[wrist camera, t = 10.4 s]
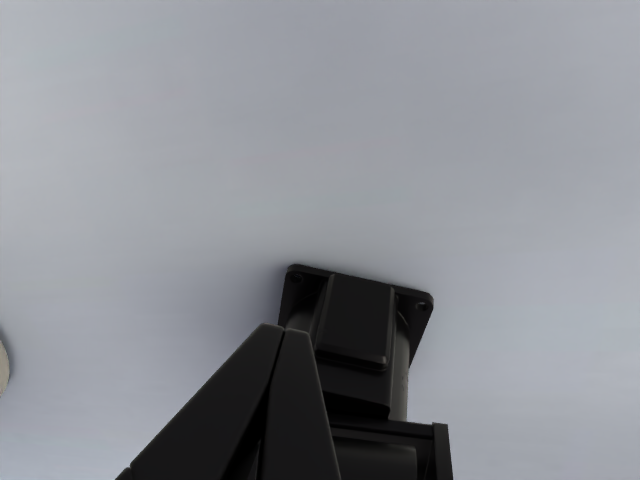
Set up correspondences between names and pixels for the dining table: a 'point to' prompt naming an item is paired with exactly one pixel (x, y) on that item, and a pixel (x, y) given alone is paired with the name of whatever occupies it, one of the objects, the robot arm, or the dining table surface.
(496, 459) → the dining table surface
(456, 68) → the dining table surface
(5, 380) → the cylinder vase
